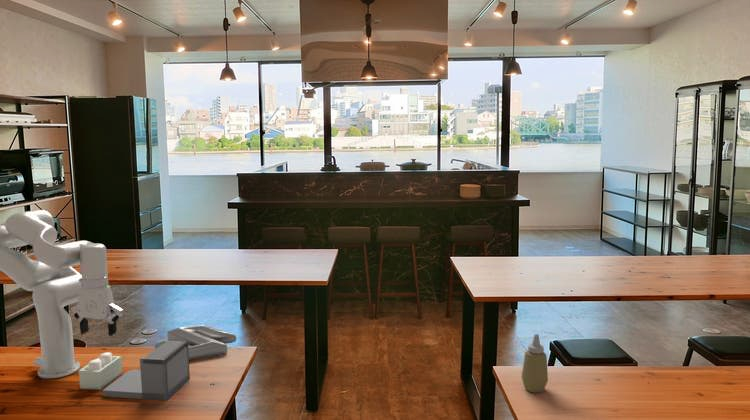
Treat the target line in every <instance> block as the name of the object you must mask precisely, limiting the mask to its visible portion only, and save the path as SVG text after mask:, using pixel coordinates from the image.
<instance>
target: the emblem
mask: <svg viewBox="0 0 750 420" xmlns="http://www.w3.org/2000/svg"><path fill="white" fill-rule="evenodd" d="M167 340H174V341H188V353H189V361H194V359H195V360H201V359H205V357H207V358H211V357H210V356H212V357H216V356H215V355H218V356H220V355H219V354H223V355H226V354H225V353H227V354H228V346H227V344H232V343H235V342H236V341H237V336H236V335H235V334H234V333H230V332H228V331H227V332H226V331H224V330H221V329H219V328H215V327H212V326H207V325H196V326H185V327H182V326H181V327H177V328H174V329H171V330H167ZM162 344H163V341H160V342H157V343H156V344H154V350H155V349H157V348H158V347H159V346H161V345H162ZM200 358H201V359H200Z"/></svg>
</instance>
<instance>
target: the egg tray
mask: <svg viewBox="0 0 750 420" xmlns="http://www.w3.org/2000/svg"><path fill="white" fill-rule="evenodd" d="M122 362H123V361H122V356H118V355H117V356H116V355H113V353H112V352H110V351H109V352H108V351H107V352H103V353H100V354H99V357H97V358H95V359H92V360H89V361H88V364H86V365H85V366H83V367H81V368H79V370H78V378H79V379H78V380H79V381H78V382H79V388H80V389H81V390H83V389H84V390H100V391H101V390H103V389H105V388H106V387H107V386H109V385H110V384H111V383H113V382H114V381H115V380H117V379H118V378H119V377H121V376H122V374H123V363H122Z"/></svg>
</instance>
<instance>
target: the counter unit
mask: <svg viewBox="0 0 750 420" xmlns="http://www.w3.org/2000/svg"><path fill="white" fill-rule="evenodd" d="M162 342H163V344H162V345H161V346H159V347H158V348H157V349H155V348H154V350H152V351H150V353H149V354H147V355H146V356H144V357H143V356H142V357H140V358H139V365H140V366H139V368H140V369H129V370H128V371H126V372H125V373H124V374H123V375H122V374H121V375H120V376H119V377H117V378H116V379H115V380H113V381H112V382H111V383H109V384H108V385H107V386H105V387H104V388H103V389H102V397H105V398H107V397H109V398H123V399H135V400H136V399H137V400H153V401H168V400H169V399H170V398H172V396H173V395H174V394H175V393H176V392H178V391H179V390H180V389H181V388H182V387H183V386H184V385H185V384H186V383H187V382H188V381H189V380H190V379H191V377H190V376H191V375H190V360H189V353H188V341H174V340H168V339H164V340H163V341H162Z"/></svg>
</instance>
